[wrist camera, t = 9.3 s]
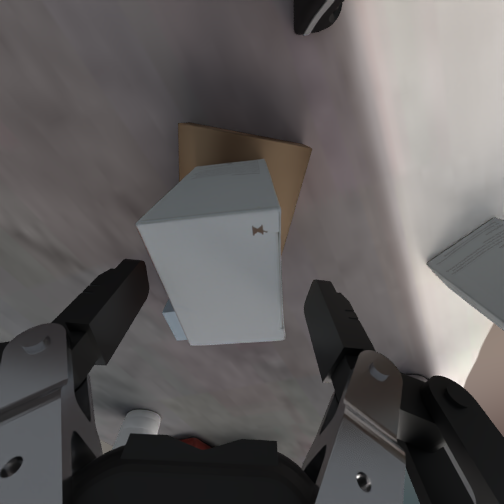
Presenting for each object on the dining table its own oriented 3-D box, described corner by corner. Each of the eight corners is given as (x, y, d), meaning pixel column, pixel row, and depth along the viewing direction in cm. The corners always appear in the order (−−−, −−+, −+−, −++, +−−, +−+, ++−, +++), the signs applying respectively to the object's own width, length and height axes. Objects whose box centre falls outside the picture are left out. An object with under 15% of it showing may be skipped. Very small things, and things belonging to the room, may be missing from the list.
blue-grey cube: (213, 279, 27) (206, 308, 23) (221, 306, 30) (216, 336, 26) (175, 283, 28) (162, 312, 23) (187, 309, 30) (176, 340, 26)
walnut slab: (301, 143, 19) (312, 148, 16) (273, 252, 26) (276, 272, 22) (191, 122, 18) (178, 123, 15) (190, 240, 25) (180, 259, 21)
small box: (195, 165, 16) (127, 218, 8) (266, 157, 16) (282, 203, 7) (215, 250, 21) (186, 349, 12) (271, 246, 20) (286, 343, 12)
